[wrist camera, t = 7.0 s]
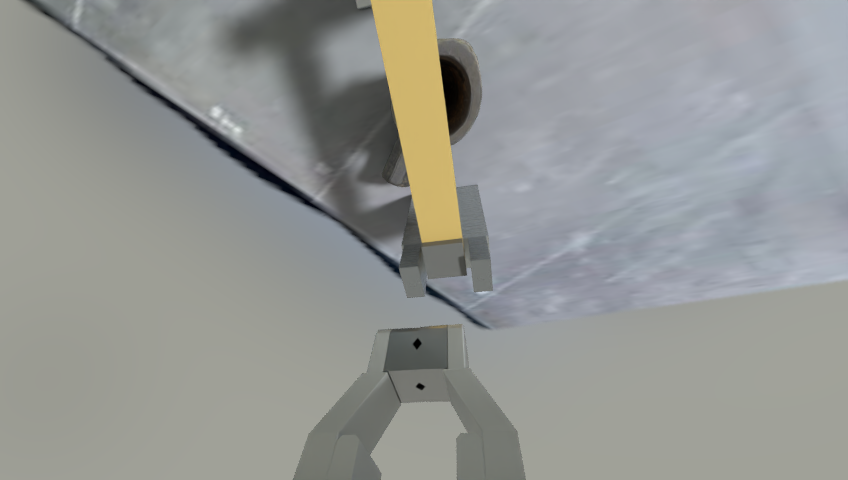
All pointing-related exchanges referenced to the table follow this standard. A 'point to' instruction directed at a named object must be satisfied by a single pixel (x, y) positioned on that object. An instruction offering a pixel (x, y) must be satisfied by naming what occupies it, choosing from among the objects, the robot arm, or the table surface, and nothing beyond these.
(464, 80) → the pipe
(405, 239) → the stop block
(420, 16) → the yellow bar
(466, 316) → the table surface
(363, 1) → the grey slotted stand
